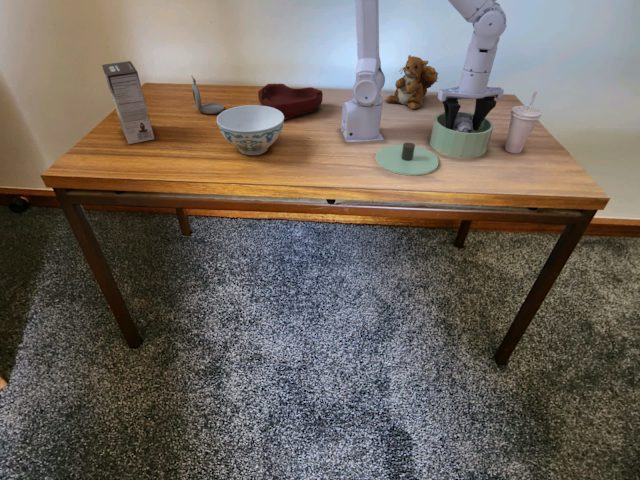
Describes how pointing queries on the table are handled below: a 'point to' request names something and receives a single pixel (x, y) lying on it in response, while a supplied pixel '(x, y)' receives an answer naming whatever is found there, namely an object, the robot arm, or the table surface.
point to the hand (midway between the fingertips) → (461, 129)
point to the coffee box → (129, 101)
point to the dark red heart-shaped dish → (290, 99)
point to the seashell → (463, 123)
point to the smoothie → (521, 126)
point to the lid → (407, 159)
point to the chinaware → (251, 127)
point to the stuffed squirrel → (414, 83)
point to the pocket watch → (206, 108)
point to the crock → (460, 138)
